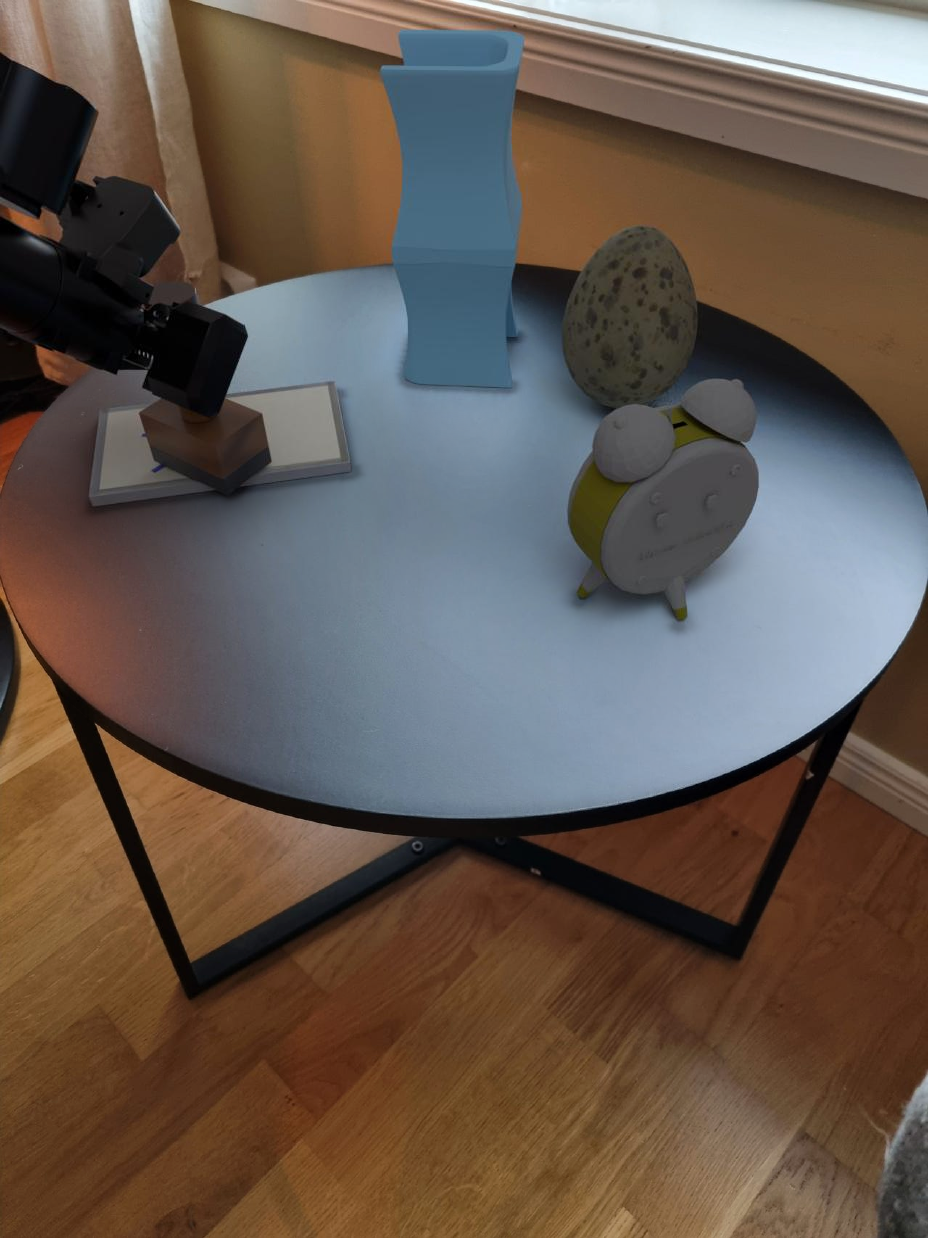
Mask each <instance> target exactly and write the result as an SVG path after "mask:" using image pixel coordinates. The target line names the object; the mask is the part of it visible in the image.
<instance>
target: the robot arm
mask: <svg viewBox="0 0 928 1238" xmlns="http://www.w3.org/2000/svg"><path fill="white" fill-rule="evenodd" d="M98 118H99V110H98V109H97V107H96V106H95V105H94V104H93V103H92V102H91V101H90V100H88V99H87V98H86V97H85V96H84V95H82V94H81V93H79V92H78V91H77V90H75V89H74V88H73V87H71V86H69V85H67V84H64V83H60V82H57V81H55V80H53V79H50V78H49V77H47V76H45V75H44V74H43V73H40V72H38V71H36V70H34V69H32V68H31V67H29V66H26V65H24V64H22V63H20V62H18V61H15V60H13V59H11V58H10V57H8V56H7V55H6V54H4V53H3V52H1V51H0V205H1V206H3V207H6V208H8V209H9V210H12V211H15V212H17V213H19V214H22V215H24V216H26V217H28V218H31V219H34V220H40V219H41V216H42V213H43V209H44V210H45V211H47V212H49V213H52V214H53V215H55V217H56V219H57V220H58V225H59V226H60V227H61V228H62V231H61V235H62V236H61V237H60V239H59V241H58V240H57V241H56V240H55V239H53V238H51V237H48V236H44V235H43V234H37V233H35V232H33V231H32V230H29V229H27V228H26V227H24V226H22V225H20V224H18V223H16V222H14V221H13V220H11V219H9V218H7V217H5V216H3V215H1V214H0V328H1V329H3V330H5V331H6V332H7V334H9V335H12V336H14V337H16V338H19V339H21V340H24V341H27V342H28V343H31V344H33V345H35V346H38V347H40V348H43V349H45V350H48V351H50V352H55V351H56V352H58V353H60V354H63V355H67V356H69V357H72V358H74V360H75V361H78V362H79V363H82V364H85V365H87V366H89V367H92V368H94V369H96V370H99V371H105V372H108V373H110V374H113V375H114V376H118V373H119V371H147V372H146V375H145V377H144V380H143V382H142V385H141V388H142V389H143V390H145V391H148V392H151V395H153V396H155V397H157V398H159V399H161V398H162V399H164V400H167V401H169V402H171V403H174V404H176V405H178V406H181V407H183V408H186V409H188V410H190V411H193V412H195V413H198V414H200V415H203V416H205V417H208V418H211V417H213V416H215V415H217V414H218V413H220V410H221V407H222V405H223V402H224V399H225V397H226V394H228V391H229V388H230V387H231V384H232V380H233V378H234V375H235V372H236V370H237V367H238V365H239V363H240V359H241V357H242V354H243V351H244V348H245V346H246V343H247V341H248V338H249V333H248V330H247V327H246V325H245V324H244V323H242V322H240V321H239V320H237V319H235V318H233V317H231V316H229V315H228V314H226V313H223V312H220V311H218V310H215V309H212V308H209V307H206V306H203V305H201V304H200V305H198V304H196V303H193V302H190V301H185V302H183V303H181V304H179V303H176V302H173V303H172V306H168V305H165V304H163V303H159V302H157V303H154V304H153V305H152V306H151V307H150V308H149V309H145V307H143V306H144V305H148V303H149V301H150V298H151V295H152V292H153V289H154V286H153V285H152V284H150V283H148V282H147V281H145V280H143V279H141V278H143V277H145V276H147V275H148V274H149V273H150V272H151V271H152V269H153V268H154V267H155V265H156V264H157V262H158V261H159V259H160V258H162V256H163V255H164V253H165V252H166V251H167V249H168V248H169V246H170V245H173V244H175V243H176V242H177V240H178V239H179V237H180V236H181V235H180V234H181V231H182V229H181V227H180V225H179V223H178V222H177V221H176V219H175V218H174V216H173V215H172V213H171V212H170V210H169V209H168V208H167V206H166V205H165V204H164V202H163V200H162V199H161V198H160V196H159V195H158V194H157V192H156V191H155V189H154V188H153V186H150V185H148V184H145V183H141V182H137V181H134V180H131V179H127V178H124V177H121V176H117V175H111V176H108V177H105V178H104V177H101V176H98V175H95V176H94V177H93V178H92V182H93V184H94V185H95V186H94V185H91V184H88V183H86V182H84V181H82V180H79V179H77V178H78V174H79V171H80V168H81V165H82V162H83V160H84V156H85V153H86V152H87V148H88V146H89V143H90V140H91V138H92V135H93V131H94V130H95V129H94V128H95V126H96V123H97V120H98Z"/></svg>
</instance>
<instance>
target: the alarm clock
mask: <svg viewBox="0 0 928 1238" xmlns="http://www.w3.org/2000/svg"><path fill="white" fill-rule="evenodd" d="M744 386H745V385H744V382H743V381H742V380H740V379H737V378H735V379H732V380H729V379H725V378H710V379H705V380H701V381H699V382H697V383H695V384H693V385H692V386H691V387H689V388H688V389H687V390H686V391H685V392H684V393H683V395H682V396H681V397H680V399H678V402H679V404H665V405H661V406H656V407H652V406H649V405H646V404H645V405H638V404H633V405H626V406H623V407H621V408H618V409H616V408H615V409H614V410H613V411H611V412H610V413H609V414H607V415H606V416H605V417H604V418H603V419H602V420H601V422H599V424H598V426H597V428H596V430H595V433H594V437H593V441H592V445H591V447H592V448H591V449H592V450H591V452H590V453H589V454H588V455H587V458H586V459H585V460H584V462H583V463H582V465H581V467H580V469H579V471H578V472H577V474H576V477H575V479H574V481H573V482H572V484H571V488H570V491H569V495H568V502H567V509H566V512H567V513H566V514H567V525H568V528H569V532H570V534H571V536H572V539H573V540H574V542H575V544H576V545H577V546H578V548H579V549H580V550H581V551H582V552H583V554H585V556H586V557H587V558H588V559H589V560H590V562H591V564H590V566H589V567H588V569H587V571H586V573H585V575H584V577H583V578H582V581H581V583H580V585H579V586H578V589H577V591H576V595H577V596H578V597H579V598H580V599H586V598H587V597H588V596H589V595H590V594H591V593H593V591H595V590H596V589H597V588H598V587H599V586H601V584H603V583H604V582H605V581H606V580H607V581H609V582H610V583H611V584H613V585H614V586H616V587H617V588H618V589H620V590H622V591H624V592H628V593H631V594H639V595H649V594H654V593H662V592H663V593H664V594H665V596H666V599H667V600H668V602H669V604H670V606H671V608H672V611H673V613H674V615H675V617H676V618H677V619H678V620H684V619H687V618H688V605H687V599H686V598H687V597H686V585H685V583H686V582H689V581H690V580H691V579H694V578H695V577H697V576H698V575H700V574H701V573H703V572H704V571H705V570H706V569H707V568H708V567H710V566H711V565H712V564H713V563H714V562H716V561H717V560H718V559H719V558H720V557H721V556H722V555H724V554H725V552H726V551H728V549H729V548H730V547H731V545H732V544H733V543H734V541H735V540H736V539H737V537H738V536H740V533H741V532H742V531H743V530H744V528H745V526H746V525H747V522H748V520H749V518H750V516H751V514H752V512H753V510H754V507H755V505H756V502H757V499H758V491H759V488H760V478H759V475H760V473H759V467H758V464H757V462H756V459H755V457H754V456H753V454H752V453H751V451H750V450H749V449H748V448H747V446H746V445H745V444H744V443H746V444H747V443H748V442H750V440H751V439H752V437H753V436H754V431H755V428H756V423H757V419H758V417H757V411H756V406H755V402H754V399H753V398H752V397H751V396H750V394H749V393H748V392H747V390H746V389H745V388H744Z"/></svg>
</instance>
